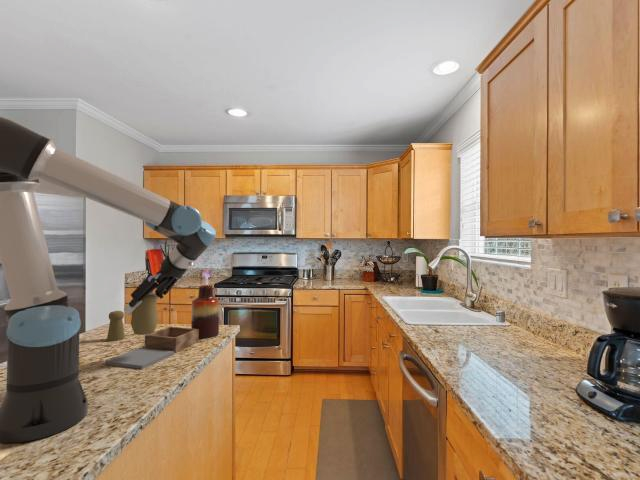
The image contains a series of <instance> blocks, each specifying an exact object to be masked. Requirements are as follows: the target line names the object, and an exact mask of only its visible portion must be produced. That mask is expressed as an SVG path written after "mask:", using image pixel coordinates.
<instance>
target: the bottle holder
mask: <svg viewBox="0 0 640 480" xmlns="http://www.w3.org/2000/svg"><path fill="white" fill-rule="evenodd" d="M199 340H200V339H199V329H191V328H190V327H189V328H188V327H178V326H177V327H176V326H175V327H174V326H169V327H166V328H163V329H160V330H155V331H154V332H153V333H151V334H146V335H144V348H147V349H157V350H166V351H174V354H175V353H178V352H180V351H182V350H184V349H186V348H189V347H192V346H193V345H196V344H198V343H199V342H200V341H199Z"/></svg>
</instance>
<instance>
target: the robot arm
mask: <svg viewBox="0 0 640 480" xmlns="http://www.w3.org/2000/svg"><path fill="white" fill-rule="evenodd" d="M40 180H41V181H43V182H46V183H49V184H51V185H53V186H56V187H59V188H60V189H63V190H66V191H69V192H71V193H73V194H76V195H78V196H81V197H83V198H87V199H88V200H91V201H94V202H96V203H97V204H98V203H99V204H101V205H103V206H107V207H109V208H111V209H114V210H116V211H118V212H120V213H121V212H122V213H124V214H126V215H129V216H132V217H134V218H136V219H138V220H141V221H144V224H145V226H146V227H148V228H150V229H152V231H153V232H157V233H159V235H163V236H165V237H166V238H168V239H170V240H171V241H174V243H175V244H176V245H175V246H174V248H173V249H172V250H171V251H170V252H169V253H168V255H166V257H165V258H164V259H163V260H162V261H161V263H160V266H161V267H160V270H158V271H156V274H152V273H148V274H147V276H146V277H145V278H146V279H145V280H144V281H143V280H142V281H143V282H141V283H139V285H138V287H136V288H135V290H133V292H131V293H130V297H131V298H132V299H131V300H130V301H129V302H128V303H127V304H126V306H125V307H124V308H123V311H124V312H125V313H126V315H127V316H132V312H133V311H134V310H135V309H136V307H137V306H138V305H140V303H141V302H142V299H143V298H145V297H146V296H147V295H148V294H149V293H150V292H152V291H153V294H151V295H154V296H156V301H157V300H158V299H163V298H164V296H166V295H167V294H168V293H169V292H170V291H171V289H172V288H173V287H174V286H175V284H176V283H177V282H178V281H179V280H180V279H181V278H183V275H185V273H186V272H187V271H188V270H189V268H190V267H192V266H194V262H196V261H197V259H198V258H199V257H200V256H201V255H202V254H203V253H204V252H205V251H206V250H207V249H208V248H209V247H210V245H211V244H212V243H213V242H214V240H215V239H216V237H217V231H216V230H215V228H214V227H213V226H212V225H211V224H210V223H209V222H206V221H204V220H202V219H203V218H202V215H201V213H200V212H199V210H198V209H197V208H196V207H193V206H190V205H181V204H179V203H177V202H174V201H172V200H170V199H168V198H166V197H164V196H161V195H160V194H157V193H156V192H152V191H150V190H148V189H146V188H144V187H142V186H141V185H139V184H135V183H134V182H131V181H129V180H127V179H124V178H123V177H121V176H118V175H117V174H115V173H112V172H110V171H107V170H105V169H103V168H101V167H99V166H97V165H96V164H92V163H90V162H88V161H86V160H84V159H81V158H79V157H77V156H76V155H73V154H71V153H69V152H66V151H64V150H62V149H61V148H57V146H56V145H55V143H54V141H53V140H52V139H50V138H48V137H46V136H43V135H41V134H39V133H38V132H35V131H34V130H31V129H29V128H27V127H25V126H23V125H21V124H19V123H17V122H14V121H13V120H10V119H8V118H5V117H2V116H0V263H1V267H2V270H3V274H4V275H3V276H4V277H5V281H6V285H7V290H8V293H9V296H10V300H9V302H7V304H6V305H5V306H4V313H5V317H6V321H7V323H8V324H7V325H8V326H7V328H6V332H5V333H6V336H7V349H6V350H7V354H6V356H7V357H6V387H5V388H6V389H5V390H6V391H5V395H4V398H3V400H2V402H1V404H0V443H3V444H4V443H6V444H13V443H15V444H16V443H23V442H31V441H35V440H39V439H40V440H41V439H43V438H47V437H50V436H53V435H56V434H58V433H61V432H63V431H65V430H67V429H69V428H71V427H73V426H75V425H77V424H78V423H79V422H81V421H82V420H83V419H84V418H85V417H86V416H87V414H88V399H87V397H86V394H85V390H84V389H83V386H82V384H81V381H80V377H79V374H80V373H79V372H80V371H79V370H80V367H79V365H80V329H81V325H82V321H81V318H80V312H79V311H78V310H77V309H76V308H75V307H72V306H71V304H70V302H69V297H68V293H67V292H65V291H62V290H61V289H59V288H58V285H57V281H56V277H55V271H54V269H53V265H52V264H53V263H52V261H51V258H50V253H49V250H48V244H47V241H46V237H45V233H44V228H43V225H42V221H41V216H40V213H39V210H38V209H39V208H38V205H37V201H36V197H35V191H36V190H37V189H38V188H39V187H40V185H41V184H40Z"/></svg>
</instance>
